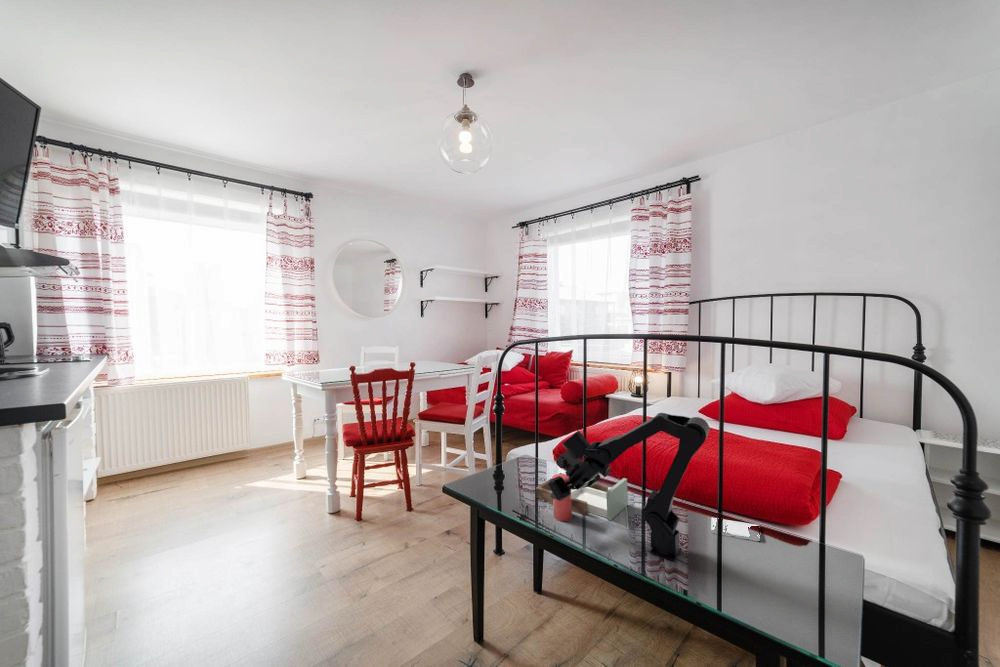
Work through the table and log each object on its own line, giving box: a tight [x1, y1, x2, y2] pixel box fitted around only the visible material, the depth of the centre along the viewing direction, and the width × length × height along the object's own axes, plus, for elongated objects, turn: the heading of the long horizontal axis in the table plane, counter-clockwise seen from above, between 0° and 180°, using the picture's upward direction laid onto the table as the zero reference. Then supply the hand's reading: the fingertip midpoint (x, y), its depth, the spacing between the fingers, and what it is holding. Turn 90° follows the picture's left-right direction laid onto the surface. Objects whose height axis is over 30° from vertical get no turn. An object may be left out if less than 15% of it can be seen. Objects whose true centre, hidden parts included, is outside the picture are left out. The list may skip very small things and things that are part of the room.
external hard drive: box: [710, 517, 761, 538], centre depth 122 cm, size 2×8×12 cm
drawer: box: [535, 472, 609, 516], centre depth 147 cm, size 20×16×4 cm
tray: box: [571, 477, 629, 521], centre depth 141 cm, size 18×12×9 cm
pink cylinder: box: [551, 473, 573, 522], centre depth 135 cm, size 6×6×13 cm
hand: (561, 492), depth 135 cm, fingers open, 9 cm apart
